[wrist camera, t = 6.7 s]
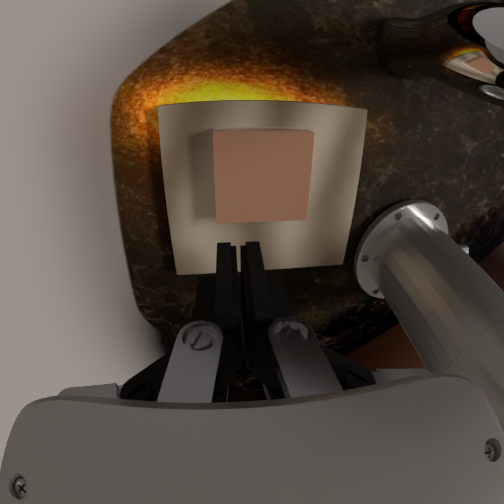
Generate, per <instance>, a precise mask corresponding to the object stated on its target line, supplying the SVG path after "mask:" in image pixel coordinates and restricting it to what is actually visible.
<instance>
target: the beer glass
mask: <svg viewBox="0 0 504 504" xmlns="http://www.w3.org/2000/svg"><path fill="white" fill-rule="evenodd" d="M375 46H376V51H377V54H378V56H379V58H380V60H381V62H382V63H383V65H384V66H385V67H386V68H387V69H388V70H389V71H390V72H391V73H392V74H394V75H395V76H397V77H399V78H402V79H406V80H413V79H419V78H431V79H435V80H438V81H440V82H443V83H445V84H447V85H449V86H452V87H454V88H456V89H458V90H460V91H462V92H465V93H467V94H469V95H472V96H474V97H476V98H478V99H481V100H483V101H486V102H489V103H492V104H495V105H498V106H501V107H504V2H498V1H471V2H463V3H458V4H455V5H451V6H448V7H445V8H442V9H440V10H437V11H435V12H432V13H430V14H428V15H425V16H422V17H419V18H402V17H393V18H389V19H387V20H385V21H383V22H382V23H381V24H380V25H379V27H378V29H377V31H376V35H375Z"/></svg>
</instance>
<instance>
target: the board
mask: <svg viewBox="0 0 504 504" xmlns="http://www.w3.org/2000/svg"><path fill="white" fill-rule="evenodd" d="M366 118H367V110H366V109H362V108H357V107H350V106H342V105H333V104H323V103H312V102H298V101H278V100H220V101H200V102H186V103H175V104H165V105H159V106H158V122H159V136H160V148H161V159H162V170H163V179H164V188H165V196H166V204H167V212H168V220H169V227H170V234H171V240H172V247H173V253H174V259H175V265H176V271H177V275H185V274H204V273H216V256H217V243H221V242H231V246H236V252H237V267H238V272H239V271H241V262H240V245H245V242H250V241H259V242H260V247H261V252H262V257H263V262H264V268H265V270H270V269H285V268H300V267H314V266H327V265H340V264H343V260H344V256H345V251H346V246H347V241H348V237H349V232H350V226H351V221H352V216H353V210H354V205H355V199H356V193H357V187H358V181H359V174H360V167H361V160H362V153H363V145H364V137H365V128H366ZM227 127H290V128H307V129H309V130H311V131H313V132H314V145H313V158H312V169H311V180H310V191H309V200H308V210H307V219H306V220H294V221H268V222H245V223H225V224H217V221H216V201H215V178H214V151H213V128H227Z"/></svg>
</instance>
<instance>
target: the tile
mask: <svg viewBox="0 0 504 504" xmlns="http://www.w3.org/2000/svg"><path fill="white" fill-rule="evenodd" d="M313 145H314V132H313V131H311V130H309V129H307V128H290V127H227V128H213V151H214V178H215V201H216V221H217V224H225V223H245V222H268V221H294V220H306V219H307V210H308V200H309V191H310V180H311V169H312V158H313Z"/></svg>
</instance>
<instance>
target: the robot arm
mask: <svg viewBox="0 0 504 504" xmlns="http://www.w3.org/2000/svg"><path fill="white" fill-rule="evenodd" d="M468 252H469V249H468V246H467V245H457V244H456V243H455V242H454V241H453V240H452V239H451V238H450V237H449V236H448V226H447V222H446V219H445V217H444V215H443V214H442V212H441V211H440V210H439V209H438V208H437V207H435V206H434V205H433V204H431V203H430V202H427V201H424V200H418V199H412V200H407V201H403V202H400V203H398V204H395V205H393V206H392V207H390V208H389V209H387V210H385V211H384V212H383V213H382V214H381V215H379V216H378V217H377V218H376V219H375V220H374V221H373V222H372V224H371V225H370V226H369V227H368V228H367V230H366V231H365V233H364V234H363V236H362V238H361V240H360V242H359V244H358V246H357V250H356V253H355V257H354V273H355V276H356V279H357V281H358V283H359V284H360V286H361V287H362V289H363V290H364V291H365V292H366V293H368V294H369V295H371V296H373V297H377V298H385V299H386V301H387V302H388V304H389V305H390V307H391V309H392V310H393V312H394V314H395V315H396V317H397V318H398V320H399V322H400V323H401V325H402V327H403V328H404V330H405V332H406V333H407V335H408V337H409V339H410V340H411V342H412V344H413V345H414V347H415V349H416V351H417V352H418V354H419V356H420V358H421V359H422V361H423V363H424V365H425V367H426V369H427V370H425V369H376V371H375V372H370V371H369V370H368V369H366V368H365V367H363V366H361V365H359V364H357V363H356V362H354V361H352V360H350V359H348V358H346V357H344V356H342V355H340V354H338V353H336V352H335V351H333V350H331V349H329V348H327V347H325V346H323V345H322V344H320V343H319V342H318V340H317V338H316V336H315V334H314V332H313V330H312V328H311V327H310V325H309V324H308V323H307V322H305V321H304V320H302V319H299V318H297V317H292V315H291V311H290V307H289V303H288V299H287V295H286V291H285V288H284V284H283V280H282V276H281V273H280V272H276V273H265V268H264V262H263V257H262V252H261V247H260V242H259V241H250V242H245V245H240V262H241V305H242V318H243V330H244V342H245V354H246V366H247V369H252V371H253V376H255V378H257V379H258V380H260V381H261V382H263V383H264V389H265V393H266V395H267V399H268V400H263V401H248V402H227V395H228V386H229V385H230V384H231V383H232V382H233V381H234V380H235V379H236V378H237V372H236V369H242V344H241V310H240V296H239V281H238V267H237V252H236V246H231V242H221V243H217V256H216V275H199V276H198V284H197V294H196V303H195V314H194V322H191V323H189V324H187V325H185V326H184V327H183V328H182V329H181V330H180V331H179V333H178V336H177V339H176V342H175V345H174V348H173V349H172V350H171V351H169V352H168V353H167V354H165V355H164V356H162V357H161V358H160V359H158V360H157V361H155V362H154V363H153V364H151V365H149V366H148V367H147V368H145V369H144V370H142V371H141V372H139V373H138V374H136V375H135V376H133V377H132V378H131V379H129V380H128V381H127V382H126V383H125V384H124V385H121V386H117V384H116V383H113V384H104V385H95V386H84V387H71V388H67V389H64V390H63V391H61V392H60V394H59V395H58V396H52V397H47V398H42V399H39V400H36V401H33V402H31V403H29V404H28V405H26V406H25V407H24V408H23V409H22V410H21V412H20V413H19V415H18V417H17V418H16V420H15V423H14V425H13V427H12V430H11V432H10V435H9V438H8V441H7V445H6V448H5V452H4V456H3V460H2V465H1V470H0V504H504V293H503V291H502V290H501V289H500V288H499V287H498V286H497V285H496V283H495V282H494V281H493V280H492V279H491V278H490V277H489V276H488V275H487V274H486V273H485V272H484V270H482V268H481V267H480V266H479V265H478V264H477V263H476V262H475V261H474V260H473V259H472V258H471V257H470V256H469V255H468Z"/></svg>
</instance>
